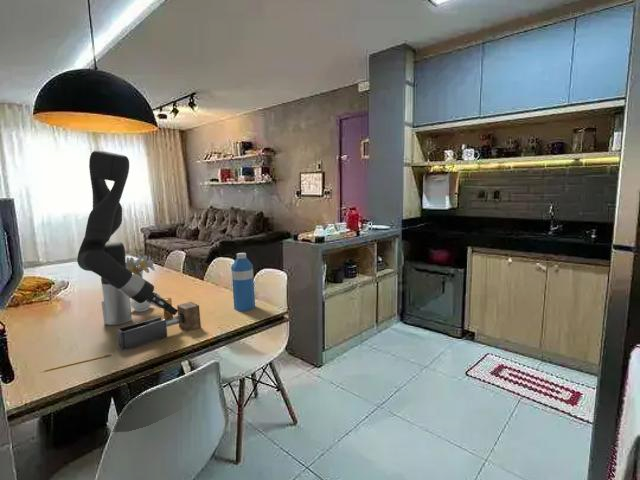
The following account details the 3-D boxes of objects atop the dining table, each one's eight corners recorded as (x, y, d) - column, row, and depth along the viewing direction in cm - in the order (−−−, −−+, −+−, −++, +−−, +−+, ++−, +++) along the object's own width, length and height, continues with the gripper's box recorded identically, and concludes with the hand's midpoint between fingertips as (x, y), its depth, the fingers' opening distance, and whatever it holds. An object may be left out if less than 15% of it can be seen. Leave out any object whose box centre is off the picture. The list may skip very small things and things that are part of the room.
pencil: (112, 356, 114) (112, 353, 114) (112, 356, 113) (112, 353, 114) (39, 374, 104) (39, 371, 104) (39, 374, 103) (38, 371, 104)
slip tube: (151, 332, 124) (148, 304, 122) (148, 330, 126) (145, 302, 124) (194, 320, 135) (192, 294, 133) (190, 318, 137) (188, 292, 136)
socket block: (187, 331, 131) (185, 309, 130) (179, 327, 136) (177, 305, 135) (200, 327, 135) (199, 305, 134) (192, 323, 140) (190, 301, 139)
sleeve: (123, 351, 116) (121, 332, 115) (118, 346, 120) (116, 328, 119) (167, 337, 127) (165, 320, 126) (161, 333, 130) (160, 316, 129)
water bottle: (234, 312, 151) (230, 256, 147) (233, 305, 160) (230, 252, 156) (256, 309, 153) (252, 254, 150) (254, 303, 162) (251, 251, 159)
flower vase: (126, 318, 147) (120, 261, 144) (127, 306, 163) (121, 254, 160) (160, 312, 153) (154, 257, 150) (157, 302, 169) (152, 251, 166)
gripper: (150, 281, 117) (188, 307, 127) (136, 275, 127) (172, 299, 137) (135, 300, 114) (175, 325, 124) (122, 292, 124) (160, 316, 134)
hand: (173, 311), depth 130 cm, fingers closed on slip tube, 3 cm apart
